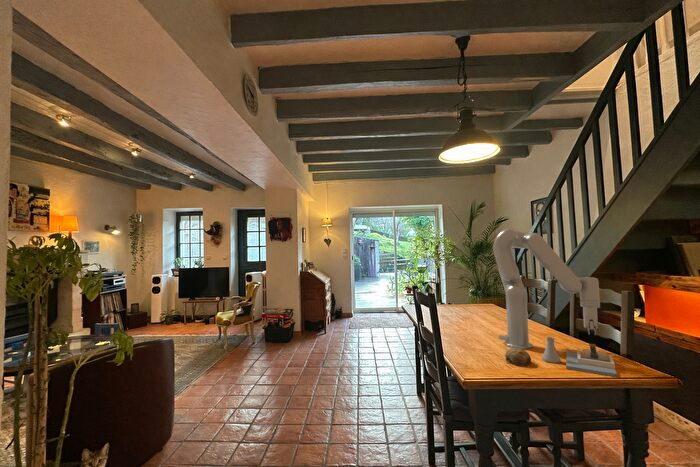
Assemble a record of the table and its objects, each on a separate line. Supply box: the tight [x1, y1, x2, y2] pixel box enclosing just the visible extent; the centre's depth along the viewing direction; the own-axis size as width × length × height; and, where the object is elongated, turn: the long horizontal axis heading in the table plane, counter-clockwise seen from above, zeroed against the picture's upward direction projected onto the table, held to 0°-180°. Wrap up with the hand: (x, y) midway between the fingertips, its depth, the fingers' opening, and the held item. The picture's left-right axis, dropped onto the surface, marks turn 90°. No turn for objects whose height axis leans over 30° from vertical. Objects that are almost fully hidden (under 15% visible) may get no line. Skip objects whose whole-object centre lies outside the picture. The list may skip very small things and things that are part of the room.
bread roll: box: [504, 347, 532, 367], centre depth 139 cm, size 10×10×8 cm
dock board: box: [565, 348, 618, 378], centre depth 135 cm, size 16×24×4 cm, turn 145°
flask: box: [541, 336, 562, 364], centre depth 140 cm, size 7×7×10 cm
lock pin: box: [588, 343, 598, 358], centre depth 145 cm, size 2×14×8 cm, turn 145°
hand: (592, 341), depth 150 cm, fingers open, 6 cm apart
